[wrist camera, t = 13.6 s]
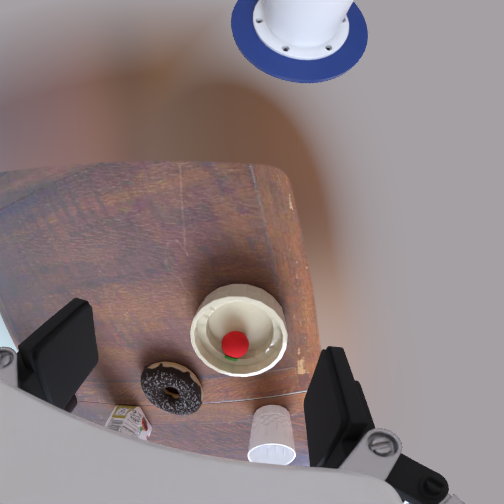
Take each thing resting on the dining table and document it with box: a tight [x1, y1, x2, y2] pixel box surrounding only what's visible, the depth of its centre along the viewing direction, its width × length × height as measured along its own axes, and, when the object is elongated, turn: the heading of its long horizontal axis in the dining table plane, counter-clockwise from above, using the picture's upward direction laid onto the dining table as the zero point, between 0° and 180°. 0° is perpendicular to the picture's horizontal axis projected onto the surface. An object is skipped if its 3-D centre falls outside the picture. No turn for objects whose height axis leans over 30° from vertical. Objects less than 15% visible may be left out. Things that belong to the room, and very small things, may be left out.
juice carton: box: [104, 405, 152, 441], centre depth 43 cm, size 8×9×19 cm
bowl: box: [190, 284, 287, 377], centre depth 41 cm, size 13×13×5 cm
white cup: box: [248, 405, 296, 465], centre depth 45 cm, size 8×8×10 cm
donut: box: [141, 361, 203, 416], centre depth 46 cm, size 11×12×4 cm
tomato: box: [222, 331, 249, 361], centre depth 42 cm, size 4×4×4 cm
